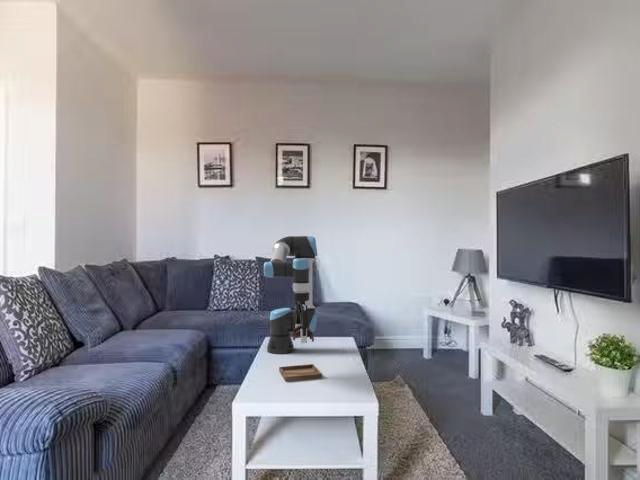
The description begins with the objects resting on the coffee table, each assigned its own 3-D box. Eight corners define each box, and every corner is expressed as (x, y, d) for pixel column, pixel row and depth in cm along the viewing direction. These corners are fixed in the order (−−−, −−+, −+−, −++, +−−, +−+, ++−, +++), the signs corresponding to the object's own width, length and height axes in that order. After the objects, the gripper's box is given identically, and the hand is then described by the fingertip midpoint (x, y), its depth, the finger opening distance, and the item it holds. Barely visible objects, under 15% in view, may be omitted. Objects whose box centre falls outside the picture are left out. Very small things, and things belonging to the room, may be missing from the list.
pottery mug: (314, 344, 187) (305, 329, 186) (296, 352, 189) (287, 337, 188) (318, 332, 198) (309, 317, 197) (301, 339, 201) (292, 325, 200)
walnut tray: (279, 371, 197) (279, 366, 197) (313, 368, 201) (313, 364, 201) (285, 381, 182) (285, 377, 182) (321, 378, 186) (321, 373, 186)
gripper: (288, 289, 202) (288, 335, 202) (298, 295, 180) (298, 346, 180) (303, 289, 204) (303, 334, 204) (315, 294, 182) (315, 345, 182)
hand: (301, 340), depth 192 cm, fingers closed on pottery mug, 10 cm apart
